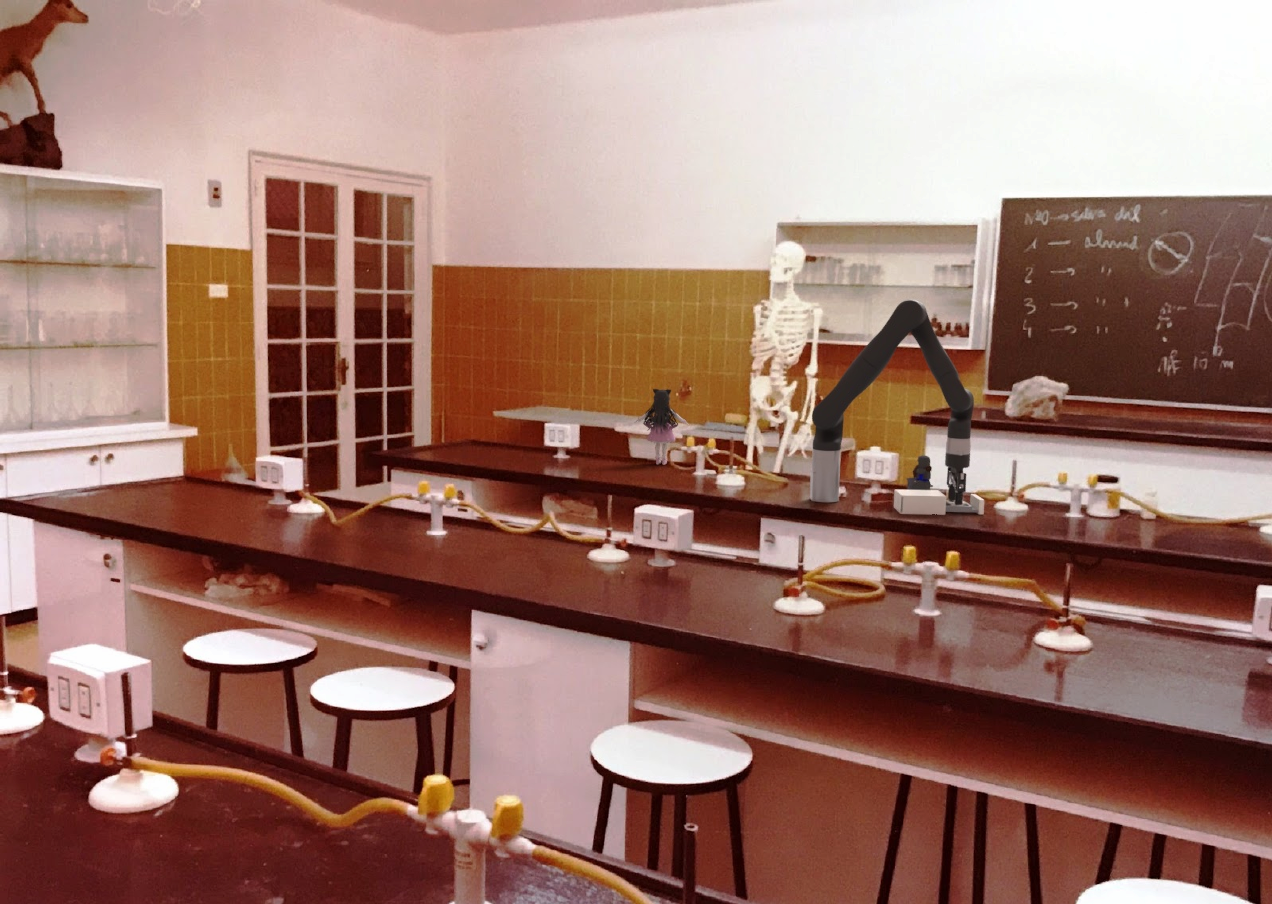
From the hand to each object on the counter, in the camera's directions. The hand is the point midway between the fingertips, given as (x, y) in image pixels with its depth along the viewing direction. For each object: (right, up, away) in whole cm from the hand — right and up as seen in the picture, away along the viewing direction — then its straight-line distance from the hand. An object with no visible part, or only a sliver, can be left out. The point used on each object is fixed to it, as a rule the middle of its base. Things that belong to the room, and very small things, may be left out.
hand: (955, 502), depth 364 cm
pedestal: (+2, -2, +10) cm, 10 cm away
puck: (0, -2, 0) cm, 1 cm away
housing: (-11, -3, +1) cm, 12 cm away
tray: (0, -3, 0) cm, 3 cm away
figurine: (-92, +11, +90) cm, 129 cm away
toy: (-7, 0, +22) cm, 23 cm away
